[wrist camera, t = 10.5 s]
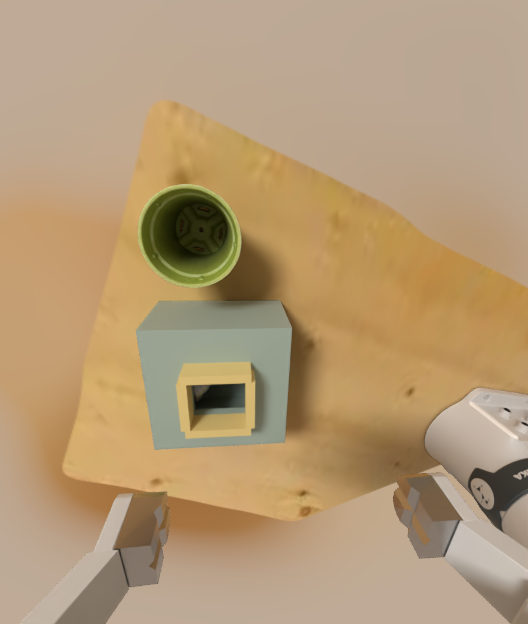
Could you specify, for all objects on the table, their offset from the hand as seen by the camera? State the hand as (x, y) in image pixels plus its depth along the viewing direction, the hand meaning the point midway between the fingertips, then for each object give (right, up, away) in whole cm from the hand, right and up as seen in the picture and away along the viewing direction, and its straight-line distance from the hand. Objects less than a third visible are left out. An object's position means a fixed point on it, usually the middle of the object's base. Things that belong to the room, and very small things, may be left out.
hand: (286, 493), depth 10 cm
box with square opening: (-7, 0, +31) cm, 31 cm away
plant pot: (-8, +16, +24) cm, 31 cm away
